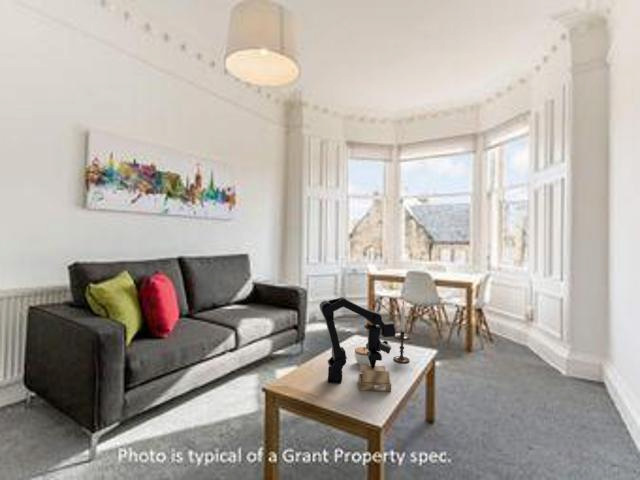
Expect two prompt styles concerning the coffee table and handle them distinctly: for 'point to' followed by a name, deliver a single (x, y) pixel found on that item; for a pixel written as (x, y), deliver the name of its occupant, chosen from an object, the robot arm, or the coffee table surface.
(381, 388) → the carton
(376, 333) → the robot arm
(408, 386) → the coffee table surface
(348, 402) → the coffee table surface
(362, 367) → the far flap
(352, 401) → the coffee table surface
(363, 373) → the near flap
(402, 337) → the candlestick
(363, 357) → the lidded jar
